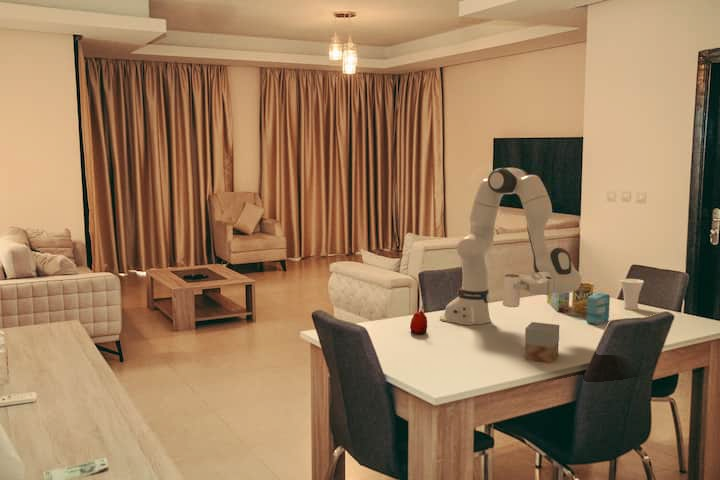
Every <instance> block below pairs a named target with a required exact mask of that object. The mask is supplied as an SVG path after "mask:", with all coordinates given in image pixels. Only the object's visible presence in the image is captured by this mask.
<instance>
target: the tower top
mask: <svg viewBox="0 0 720 480" xmlns="http://www.w3.org/2000/svg"><path fill="white" fill-rule="evenodd" d="M524 334H525V335H524V336H525V337H524V340H525V341H524V345H525V344H527V345H535V346H543V347H551V348H553V347H554V346H555V345H556V344H557V343H558V341H559V342H560V324H554V323H545V322H536V321H535V322H533V321H531V322H530V323H529V324H528V325H527V326H526V327H525V333H524Z"/></svg>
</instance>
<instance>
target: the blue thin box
mask: <svg viewBox="0 0 720 480" xmlns="http://www.w3.org/2000/svg"><path fill="white" fill-rule="evenodd" d="M610 299H611V298H610V295H609V294H607V293H603V292H602V293H601V292H599V293H594V294H593V295H591V296H589V297H588V299H587V316H586V323H587V324H592V325H600V324H602V322H603V323H605V321H606V322H608V320H610V319H609V318H610V301H611V300H610Z"/></svg>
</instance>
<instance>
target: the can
mask: <svg viewBox="0 0 720 480" xmlns="http://www.w3.org/2000/svg"><path fill="white" fill-rule="evenodd" d="M519 275H520V274H514V273H512V274H511V273H508V274H505V275H504V278H503V285H502V286H503V291H502V306H503V307H507V308H519V306H520V303H521V302H520V301H521V289H514V288H513V287H514V284H520V282H521V280H520V276H519Z"/></svg>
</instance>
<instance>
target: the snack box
mask: <svg viewBox="0 0 720 480" xmlns="http://www.w3.org/2000/svg"><path fill="white" fill-rule="evenodd" d="M570 293H571V292H570ZM570 293H560V294H559V293H553V295H552V296H548V295H546V296H547V298H546V299H547V301H546V302H547V303H548V305H549V306H551V307H552V309H554V310H556V312H557V313H569V310H570V309H569V307H570Z"/></svg>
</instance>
